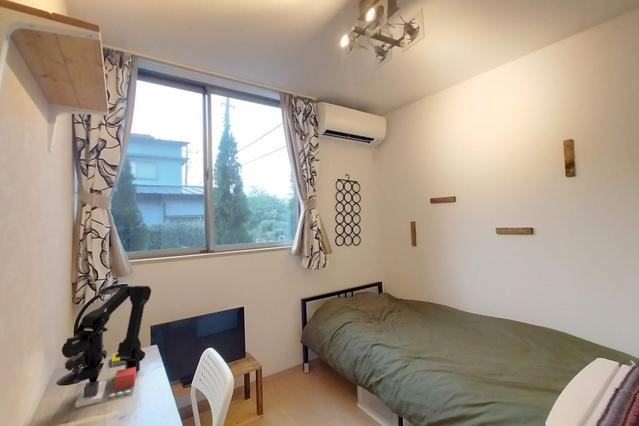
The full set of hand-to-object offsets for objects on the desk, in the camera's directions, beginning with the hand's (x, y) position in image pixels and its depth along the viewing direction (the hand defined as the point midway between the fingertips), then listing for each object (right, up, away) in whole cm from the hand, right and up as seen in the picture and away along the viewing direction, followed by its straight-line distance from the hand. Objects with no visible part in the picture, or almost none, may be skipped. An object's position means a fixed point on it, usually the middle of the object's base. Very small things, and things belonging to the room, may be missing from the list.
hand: (92, 385), depth 117 cm
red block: (+8, -4, +8) cm, 12 cm away
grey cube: (+2, -2, -3) cm, 4 cm away
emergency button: (-9, -7, +32) cm, 34 cm away
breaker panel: (+4, -5, +2) cm, 7 cm away
